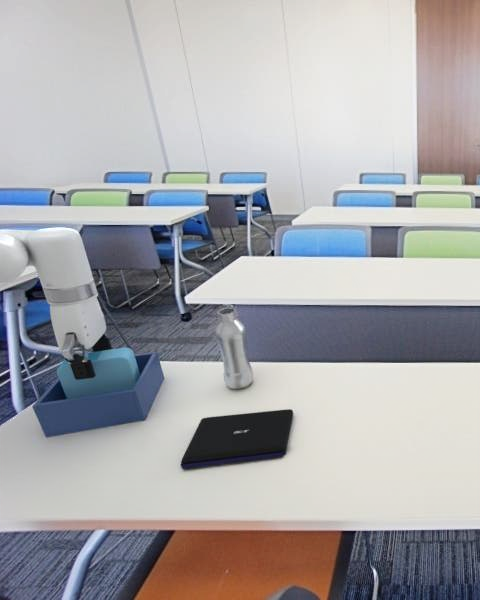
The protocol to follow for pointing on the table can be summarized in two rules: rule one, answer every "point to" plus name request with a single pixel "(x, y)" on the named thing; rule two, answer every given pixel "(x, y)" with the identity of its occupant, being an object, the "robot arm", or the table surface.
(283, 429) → the laptop
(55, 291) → the robot arm
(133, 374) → the light blue rounded block
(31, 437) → the table surface
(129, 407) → the blue bin
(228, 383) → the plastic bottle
